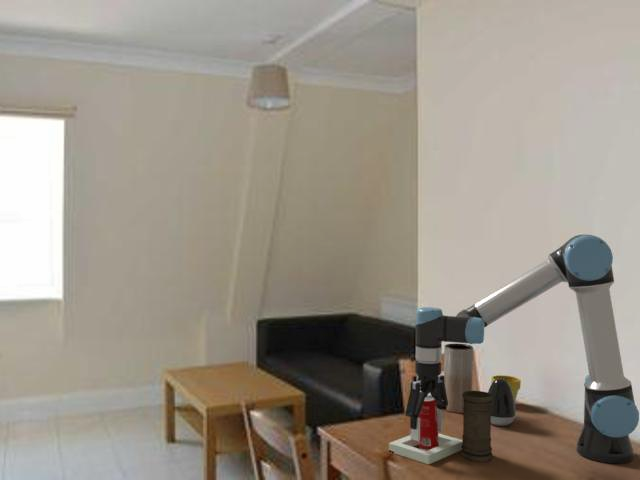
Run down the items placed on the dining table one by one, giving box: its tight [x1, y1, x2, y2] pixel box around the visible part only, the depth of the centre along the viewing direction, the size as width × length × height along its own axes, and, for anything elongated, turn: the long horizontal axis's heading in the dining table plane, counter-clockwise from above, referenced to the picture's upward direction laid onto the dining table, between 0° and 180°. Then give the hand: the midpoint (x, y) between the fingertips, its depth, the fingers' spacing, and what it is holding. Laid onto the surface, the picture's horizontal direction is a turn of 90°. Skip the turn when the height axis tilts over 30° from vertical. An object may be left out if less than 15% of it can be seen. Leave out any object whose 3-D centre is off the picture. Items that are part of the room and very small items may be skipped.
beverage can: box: [418, 395, 440, 451], centre depth 196 cm, size 6×6×15 cm
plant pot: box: [490, 374, 521, 402], centre depth 244 cm, size 10×10×10 cm
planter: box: [443, 343, 474, 414], centre depth 237 cm, size 10×10×23 cm
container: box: [460, 390, 493, 463], centre depth 190 cm, size 9×9×18 cm
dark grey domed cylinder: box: [487, 378, 517, 427], centre depth 221 cm, size 10×10×15 cm
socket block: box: [388, 432, 463, 465], centre depth 195 cm, size 14×18×3 cm
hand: (426, 435), depth 195 cm, fingers open, 11 cm apart
